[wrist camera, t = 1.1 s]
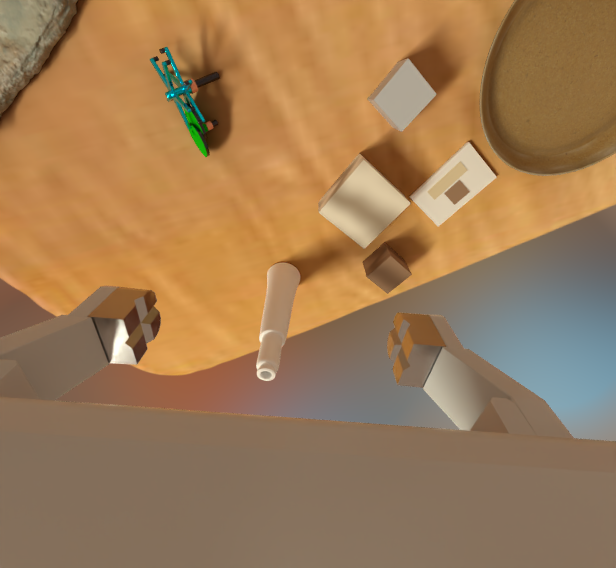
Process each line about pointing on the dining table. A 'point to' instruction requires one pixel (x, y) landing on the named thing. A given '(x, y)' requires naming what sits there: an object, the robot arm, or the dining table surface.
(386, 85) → the grey plastic cube
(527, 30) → the plant saucer
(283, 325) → the cosmetic bottle
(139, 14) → the dining table surface
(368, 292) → the dining table surface
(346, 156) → the dining table surface
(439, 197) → the card
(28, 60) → the elongated rock
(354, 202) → the birch base block
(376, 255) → the walnut cube
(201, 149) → the stick construction toy
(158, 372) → the dining table surface
